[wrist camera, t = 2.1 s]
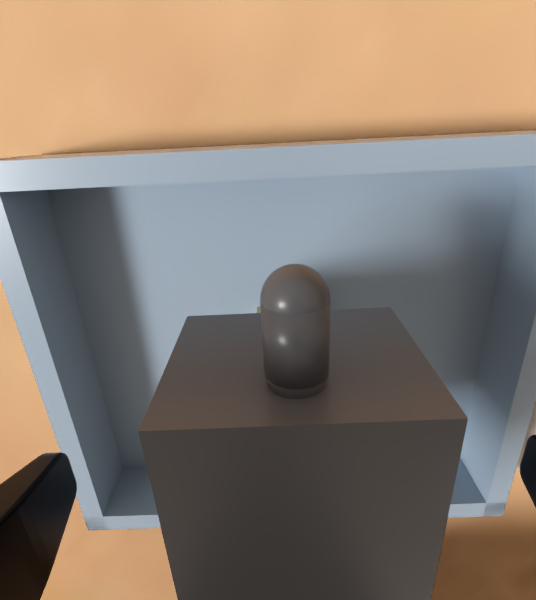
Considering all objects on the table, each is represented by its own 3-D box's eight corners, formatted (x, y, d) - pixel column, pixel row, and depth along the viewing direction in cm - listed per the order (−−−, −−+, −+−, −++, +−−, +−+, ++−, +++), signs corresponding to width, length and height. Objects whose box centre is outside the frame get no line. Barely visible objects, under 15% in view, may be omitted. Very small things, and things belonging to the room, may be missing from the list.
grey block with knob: (356, 398, 12) (428, 612, 7) (219, 404, 12) (182, 620, 7) (367, 198, 10) (495, 284, 4) (196, 206, 10) (107, 302, 4)
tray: (466, 456, 14) (502, 516, 12) (115, 469, 14) (88, 530, 12) (535, 129, 10) (614, 129, 8) (27, 155, 10) (-41, 162, 8)
